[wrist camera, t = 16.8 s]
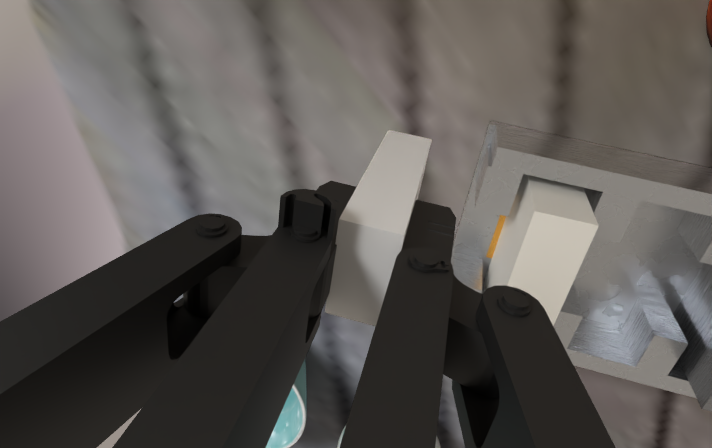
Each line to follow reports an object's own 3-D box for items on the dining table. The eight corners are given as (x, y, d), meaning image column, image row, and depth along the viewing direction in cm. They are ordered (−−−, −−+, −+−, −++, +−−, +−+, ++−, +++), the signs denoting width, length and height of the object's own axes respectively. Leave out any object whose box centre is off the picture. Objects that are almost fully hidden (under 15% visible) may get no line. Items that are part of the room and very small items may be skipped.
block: (484, 281, 46) (483, 348, 38) (524, 160, 39) (534, 211, 32) (528, 292, 45) (537, 362, 37) (576, 171, 39) (598, 225, 31)
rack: (440, 288, 48) (430, 360, 40) (489, 120, 40) (491, 166, 31) (733, 364, 45) (791, 460, 36) (856, 199, 36) (970, 274, 28)
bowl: (193, 280, 55) (150, 328, 48) (330, 307, 53) (306, 361, 46) (206, 381, 63) (170, 436, 56) (325, 409, 60) (304, 469, 53)
